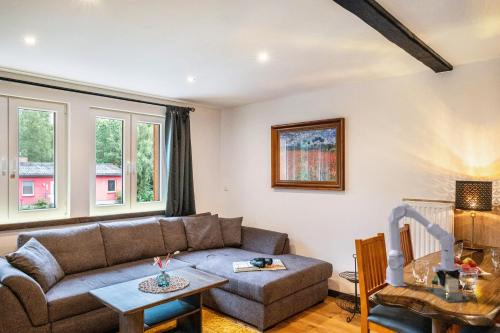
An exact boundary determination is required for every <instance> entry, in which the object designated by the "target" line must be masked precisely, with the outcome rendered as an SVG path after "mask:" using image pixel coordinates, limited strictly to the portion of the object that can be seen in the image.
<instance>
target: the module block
mask: <svg viewBox="0 0 500 333" xmlns="http://www.w3.org/2000/svg"><path fill="white" fill-rule="evenodd" d="M458 280H459V279H458V278H457V279H456V278H454V277H452V276H450V274H447V273H446V277H445V286H441V285H440V281H439V278H438V285H437V288H442V289H443V290H445V291H447V292H458V293H459V289H458Z"/></svg>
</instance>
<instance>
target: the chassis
mask: <svg viewBox="0 0 500 333" xmlns="http://www.w3.org/2000/svg"><path fill="white" fill-rule="evenodd" d="M434 285H435V284H432V283H431V284H429V288H426V289H425V290H426V291H427V292H428V293H430V294H432V295H433V296H435V297H437V298H439V299H441V300H443V301H444V302H446V303H463V302H465V303H466V302H472V299H471V297H468V296H467V292H466V291H462V292H461V293H460V292H459V291H458V292H447V291H445V290H443V289H442V288H440V287H435V286H434Z"/></svg>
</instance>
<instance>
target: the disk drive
mask: <svg viewBox="0 0 500 333" xmlns="http://www.w3.org/2000/svg"><path fill="white" fill-rule="evenodd" d="M459 280H460V279H458V290H461V289H462V285H461V284H460V281H459ZM431 284H432V285H435V286H438V276H437V275H435V276H434V277H433V278H432V281H431Z"/></svg>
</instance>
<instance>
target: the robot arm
mask: <svg viewBox="0 0 500 333" xmlns="http://www.w3.org/2000/svg"><path fill="white" fill-rule="evenodd" d="M404 217H405V218H410V219H413V220H415V221H416V222H418V223H419V225H420V224H421V226H424V228H426V232H427V233H428V234H430V235H431V236H432V237H433V238H435V239H436V240H437V241H439V244H440V265H438V266H433V267H432V271H433V272H434V273H435V274H436V276H438V278H439V281H440V285H441V286H445V277H446V274H447V272H448V275H449V276H452V277H454V278H456V279H458V278H459V276H460V275H461V272H462V271H463V266H460V265H455V245H454V244H455V242H456V238H455V236H454V235H453V233H450V232H449V231H447V230H444V229H443V228H442V227H441V226H440V224H439V223H435V222H430V221H429V220H428V219H427V218H425V217H424V215H422V214H420V213H419V211H417V210H416V209H415V208H414V207H412V206H411V205H409V204H408V203H402V204H397V205H396V206H394V207H393V208H392V209H391V212H390V213H389V216H388V219H387V220H388V232H389V235H388V236H389V246H390V247H389V248H390V251H389V254H388V259H387V264H388V266H387V267H386V270H385V272H386V273H385V277H386V278H385V280H384V282H386V283H387V284H388V285H390V286H392V287H407V286H408V284H406V283H404V282H405V281H404V280H405V278H404V277H405V276H404V268H405V267H404V264H405V263H406V259H405V257H404V253H403V251H402V246H401V234H400V221H401V220H402V219H403V218H404ZM445 272H446V273H445Z"/></svg>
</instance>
